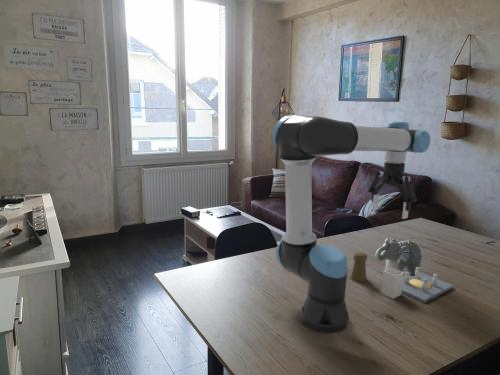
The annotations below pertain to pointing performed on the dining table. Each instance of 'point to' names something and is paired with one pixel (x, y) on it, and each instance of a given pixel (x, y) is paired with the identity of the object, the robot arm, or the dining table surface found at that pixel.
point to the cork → (359, 267)
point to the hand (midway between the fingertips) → (389, 213)
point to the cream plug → (392, 282)
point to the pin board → (429, 291)
